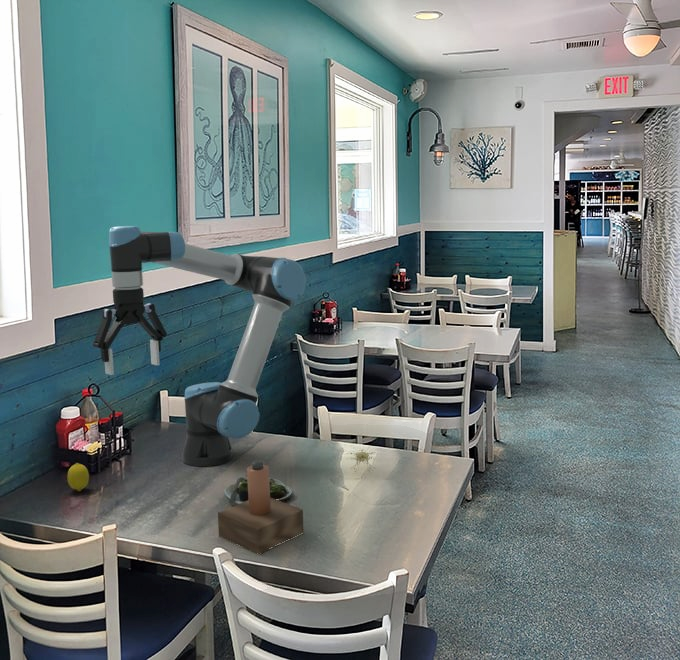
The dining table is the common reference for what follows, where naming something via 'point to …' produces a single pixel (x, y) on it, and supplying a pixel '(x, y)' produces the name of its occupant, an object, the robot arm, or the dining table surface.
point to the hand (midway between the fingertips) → (133, 369)
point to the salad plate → (240, 491)
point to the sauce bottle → (258, 488)
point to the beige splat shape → (362, 457)
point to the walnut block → (260, 525)
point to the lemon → (78, 477)
